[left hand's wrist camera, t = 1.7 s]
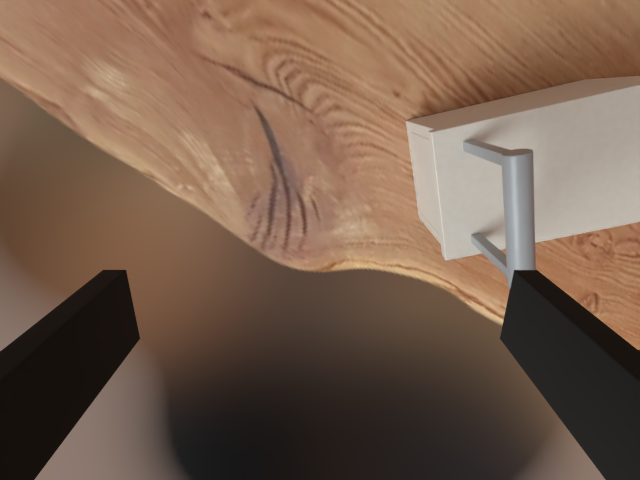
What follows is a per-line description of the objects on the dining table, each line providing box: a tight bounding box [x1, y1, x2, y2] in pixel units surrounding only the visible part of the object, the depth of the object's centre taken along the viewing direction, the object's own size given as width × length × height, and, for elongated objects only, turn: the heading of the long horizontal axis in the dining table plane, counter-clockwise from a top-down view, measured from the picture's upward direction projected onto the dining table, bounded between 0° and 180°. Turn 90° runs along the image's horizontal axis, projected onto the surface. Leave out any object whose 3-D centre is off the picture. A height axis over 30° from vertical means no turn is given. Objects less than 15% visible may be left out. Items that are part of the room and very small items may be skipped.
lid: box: [428, 83, 640, 289], centre depth 23 cm, size 16×10×8 cm, turn 103°
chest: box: [406, 76, 640, 244], centre depth 31 cm, size 16×10×9 cm, turn 103°
